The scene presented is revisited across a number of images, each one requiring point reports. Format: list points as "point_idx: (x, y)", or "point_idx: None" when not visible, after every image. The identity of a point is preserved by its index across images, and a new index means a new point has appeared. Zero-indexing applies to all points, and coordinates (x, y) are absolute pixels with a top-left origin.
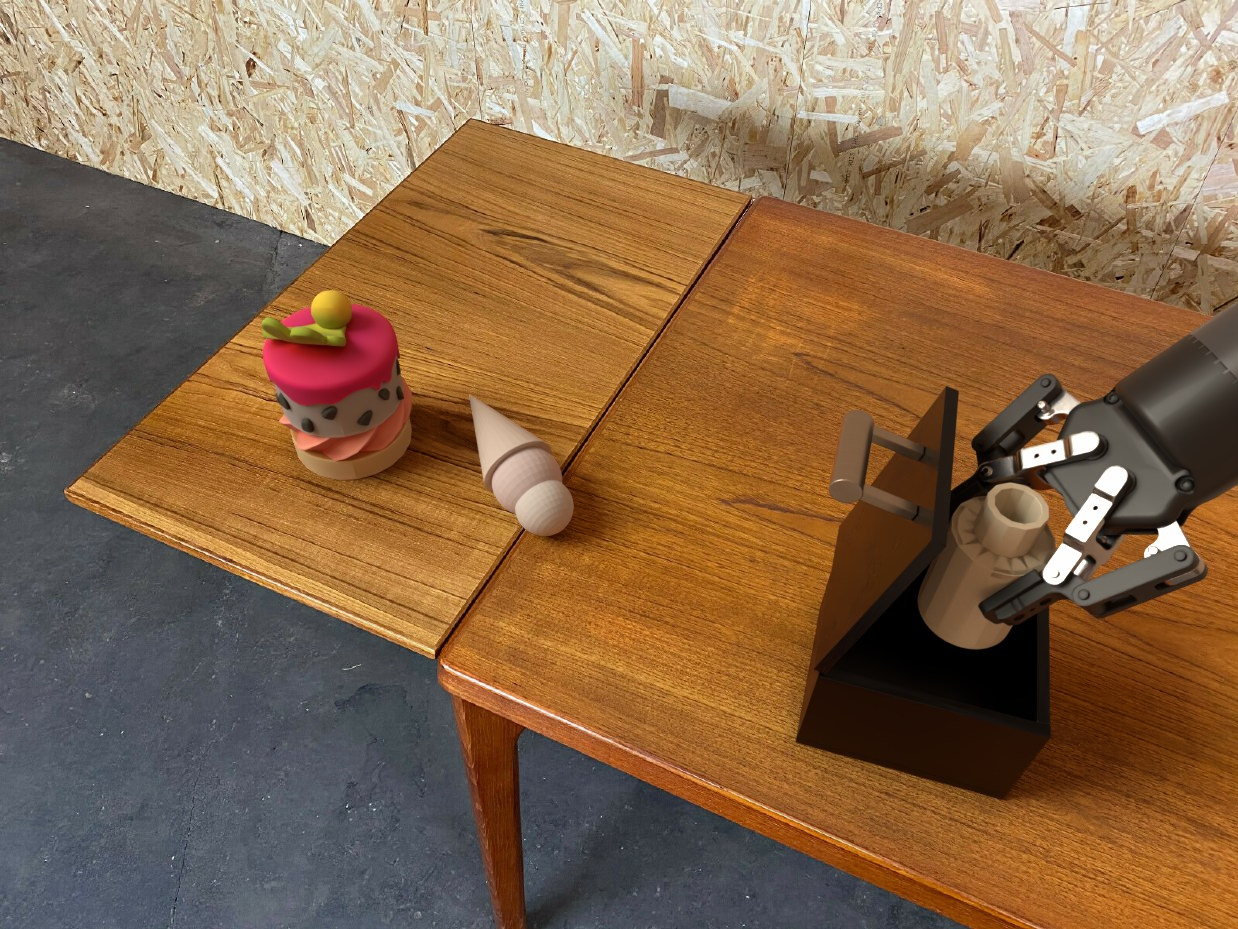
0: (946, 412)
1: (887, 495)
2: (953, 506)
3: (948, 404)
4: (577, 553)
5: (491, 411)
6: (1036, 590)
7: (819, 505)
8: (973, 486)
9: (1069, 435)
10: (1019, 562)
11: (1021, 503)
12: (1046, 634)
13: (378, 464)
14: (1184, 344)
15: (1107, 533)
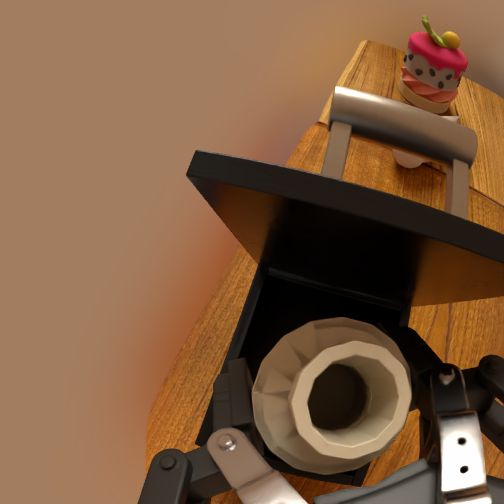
0: None
1: (338, 154)
2: (397, 340)
3: None
4: (390, 176)
5: (452, 120)
6: (226, 420)
7: (457, 332)
8: (424, 361)
9: (492, 495)
10: (279, 410)
11: (376, 421)
12: (301, 474)
13: (411, 98)
14: None
15: None
